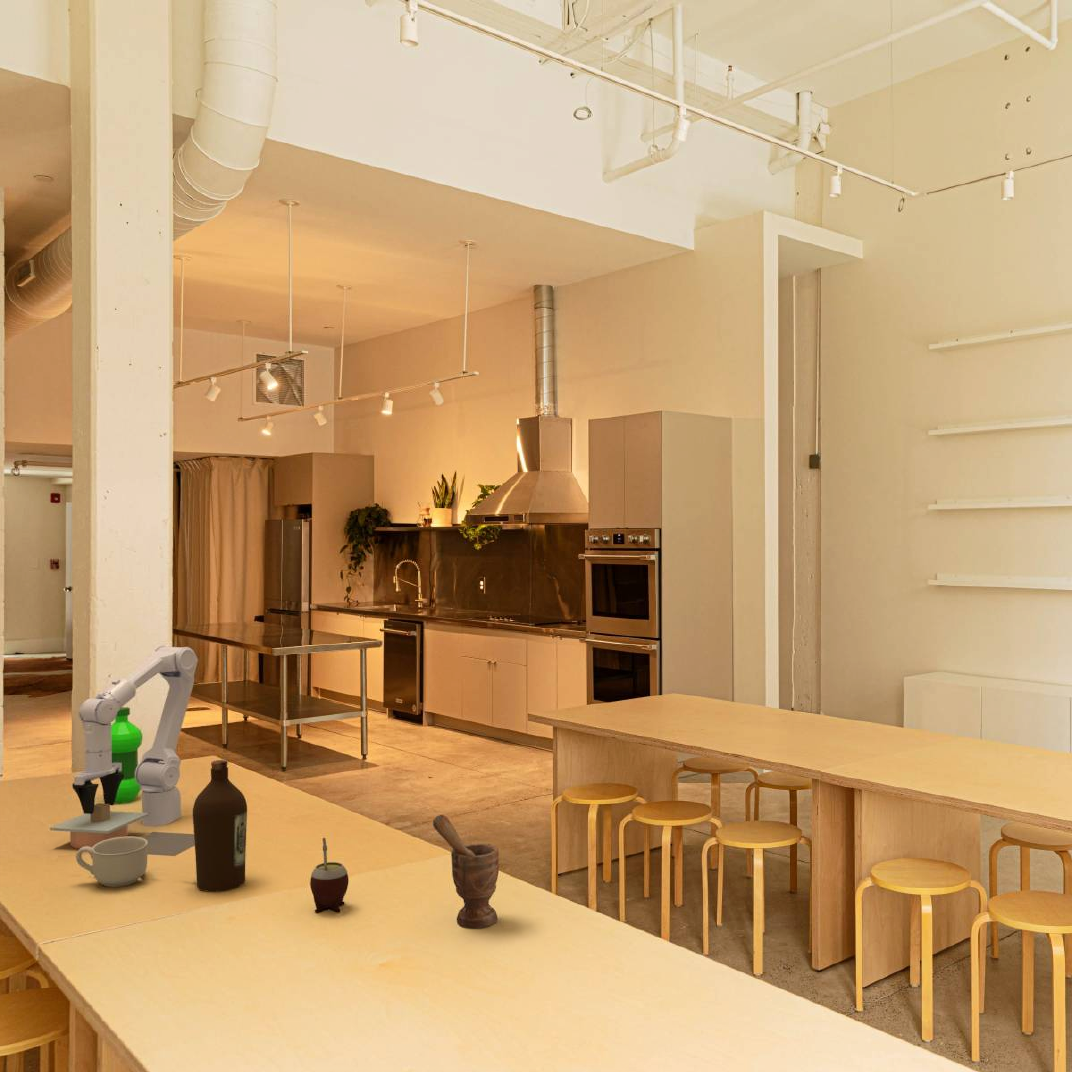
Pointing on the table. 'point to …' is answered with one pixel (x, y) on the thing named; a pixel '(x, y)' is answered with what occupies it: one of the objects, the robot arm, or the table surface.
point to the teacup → (116, 860)
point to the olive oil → (220, 832)
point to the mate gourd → (328, 884)
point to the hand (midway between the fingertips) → (99, 809)
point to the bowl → (94, 837)
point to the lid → (100, 821)
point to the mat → (168, 843)
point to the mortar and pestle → (472, 876)
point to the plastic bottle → (126, 754)
